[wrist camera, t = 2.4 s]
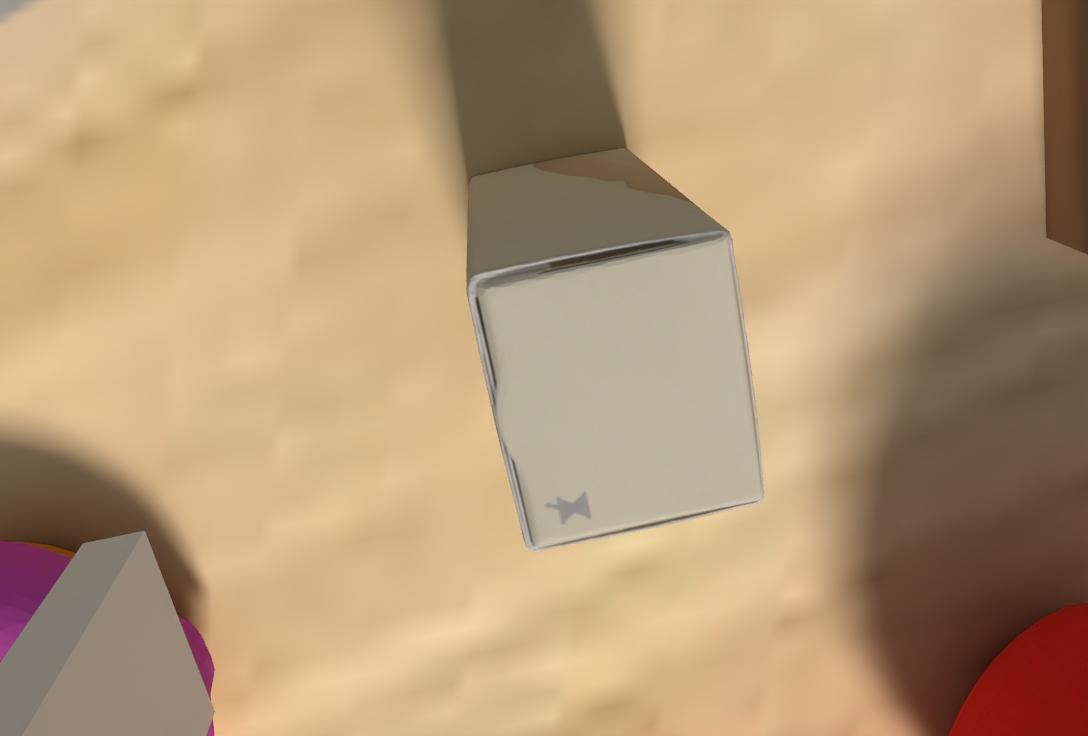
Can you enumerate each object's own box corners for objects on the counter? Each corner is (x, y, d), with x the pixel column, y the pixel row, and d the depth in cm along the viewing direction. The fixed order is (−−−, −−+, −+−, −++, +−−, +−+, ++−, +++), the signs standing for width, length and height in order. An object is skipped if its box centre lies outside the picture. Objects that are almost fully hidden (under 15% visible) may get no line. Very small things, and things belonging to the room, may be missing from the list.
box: (656, 327, 28) (772, 523, 17) (501, 358, 28) (525, 573, 17) (627, 133, 26) (737, 224, 16) (461, 166, 26) (460, 279, 16)
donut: (23, 455, 28) (-56, 537, 24) (310, 665, 31) (286, 772, 27) (-193, 690, 30) (-302, 805, 26) (97, 867, 33) (43, 996, 29)
